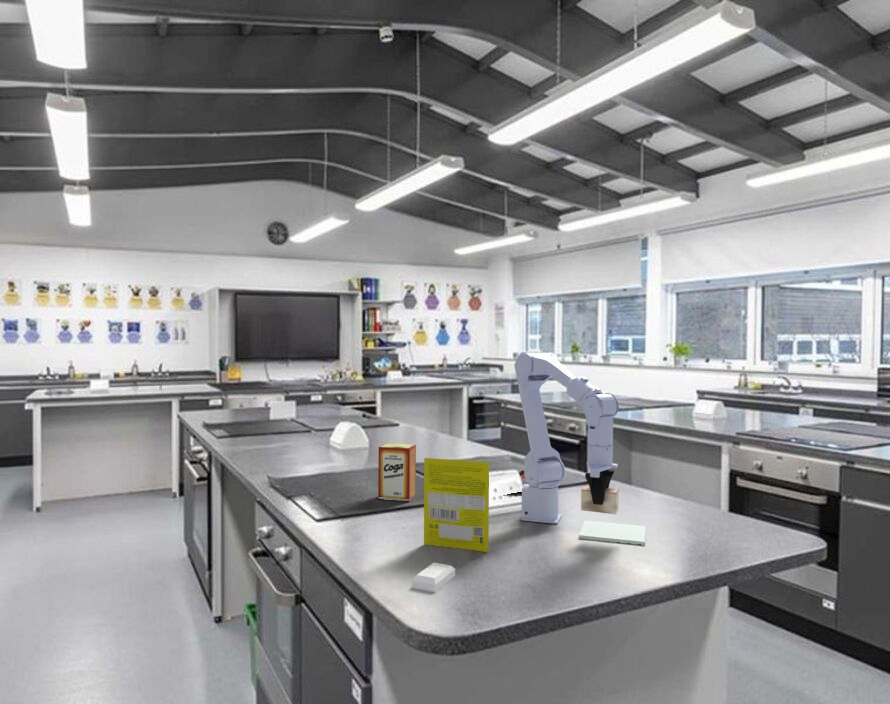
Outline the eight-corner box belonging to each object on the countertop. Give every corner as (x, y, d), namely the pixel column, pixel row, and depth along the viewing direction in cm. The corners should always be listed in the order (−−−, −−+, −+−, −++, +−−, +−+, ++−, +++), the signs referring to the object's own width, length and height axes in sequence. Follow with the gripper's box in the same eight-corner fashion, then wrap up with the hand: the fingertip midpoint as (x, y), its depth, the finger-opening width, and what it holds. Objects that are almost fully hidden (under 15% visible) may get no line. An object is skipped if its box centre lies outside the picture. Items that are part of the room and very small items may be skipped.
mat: (578, 538, 149) (578, 535, 149) (584, 523, 161) (584, 520, 161) (644, 545, 144) (644, 541, 144) (645, 529, 156) (645, 526, 156)
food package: (489, 551, 139) (489, 462, 139) (487, 553, 138) (488, 462, 138) (424, 543, 144) (425, 457, 144) (423, 545, 143) (423, 458, 143)
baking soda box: (378, 499, 184) (378, 445, 183) (385, 494, 190) (385, 442, 190) (409, 502, 181) (409, 447, 181) (415, 496, 188) (415, 443, 187)
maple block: (581, 510, 148) (581, 489, 148) (584, 506, 151) (584, 485, 151) (615, 514, 144) (616, 492, 144) (618, 510, 148) (618, 489, 148)
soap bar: (411, 589, 118) (412, 575, 118) (432, 573, 127) (433, 560, 127) (435, 594, 116) (435, 580, 116) (455, 578, 124) (455, 564, 124)
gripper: (612, 450, 139) (612, 511, 140) (622, 441, 153) (621, 496, 153) (581, 448, 142) (580, 507, 142) (592, 439, 155) (592, 493, 156)
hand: (599, 502), depth 148 cm, fingers closed on maple block, 4 cm apart
